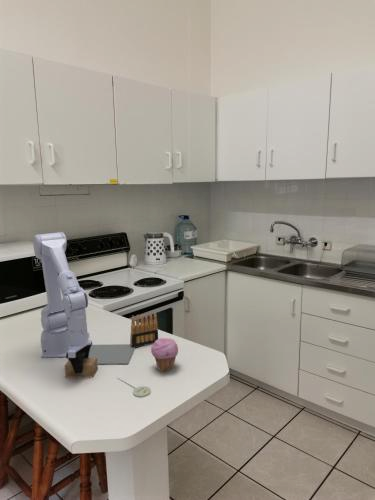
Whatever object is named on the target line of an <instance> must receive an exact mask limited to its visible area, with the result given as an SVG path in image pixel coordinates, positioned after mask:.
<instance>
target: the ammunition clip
mask: <svg viewBox="0 0 375 500" xmlns="http://www.w3.org/2000/svg"><path fill="white" fill-rule="evenodd" d="M152 314H153V315H152ZM157 317H158V316H157V313H156V311H154V313H152V312H150V313H149V316H148V313H145V315H144V314H142V313H141V315H140V317H139V314H137V315H136V317H135V315H132V317H131V326H130V339H129V340H130V342H129V343H130V346H131V347H132V348H133V347H135V348H138V347H142V346H146V345H153V344H154V342H155V341H156V340H158V339H159V329H158V319H157Z"/></svg>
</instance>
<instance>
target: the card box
mask: <svg viewBox="0 0 375 500" xmlns="http://www.w3.org/2000/svg"><path fill="white" fill-rule="evenodd" d="M98 371H99V365H98V364H97V358H84V359H83V370H82V373H75V372H74V369H73V367H72V364H71V362H70V361H69V360H67V362H65V364H64V374H65V378H93V377H95V376H96V373H97V372H98Z"/></svg>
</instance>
